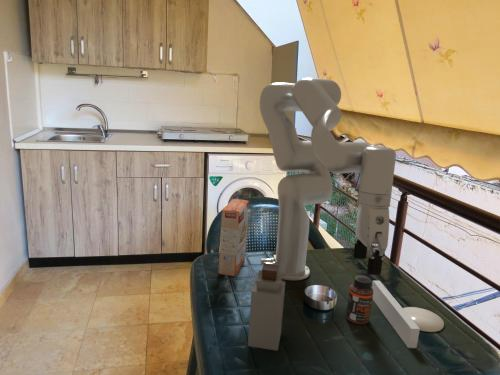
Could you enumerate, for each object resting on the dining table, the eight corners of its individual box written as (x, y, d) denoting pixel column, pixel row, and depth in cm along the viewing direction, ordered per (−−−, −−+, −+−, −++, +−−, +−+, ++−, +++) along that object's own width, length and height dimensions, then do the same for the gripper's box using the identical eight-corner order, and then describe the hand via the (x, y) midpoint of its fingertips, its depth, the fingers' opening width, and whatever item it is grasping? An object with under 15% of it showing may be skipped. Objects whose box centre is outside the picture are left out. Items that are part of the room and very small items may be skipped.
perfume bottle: (277, 350, 91) (284, 276, 87) (247, 345, 92) (252, 271, 88) (280, 333, 97) (286, 263, 93) (252, 329, 98) (257, 259, 94)
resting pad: (409, 331, 101) (410, 330, 101) (391, 308, 112) (391, 306, 112) (452, 332, 102) (452, 330, 102) (430, 308, 113) (430, 307, 113)
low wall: (408, 348, 95) (411, 328, 94) (370, 296, 118) (372, 280, 117) (416, 348, 95) (419, 328, 94) (377, 296, 118) (379, 280, 117)
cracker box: (236, 277, 125) (240, 211, 120) (217, 274, 126) (220, 209, 121) (246, 259, 138) (250, 199, 133) (228, 257, 139) (231, 197, 134)
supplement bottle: (355, 327, 102) (360, 285, 99) (340, 315, 107) (345, 275, 104) (374, 323, 104) (380, 282, 102) (359, 311, 109) (364, 272, 107)
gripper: (405, 208, 90) (395, 281, 94) (375, 190, 107) (368, 253, 110) (372, 208, 89) (363, 281, 93) (347, 190, 106) (341, 252, 110)
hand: (366, 265), depth 102 cm, fingers open, 9 cm apart
